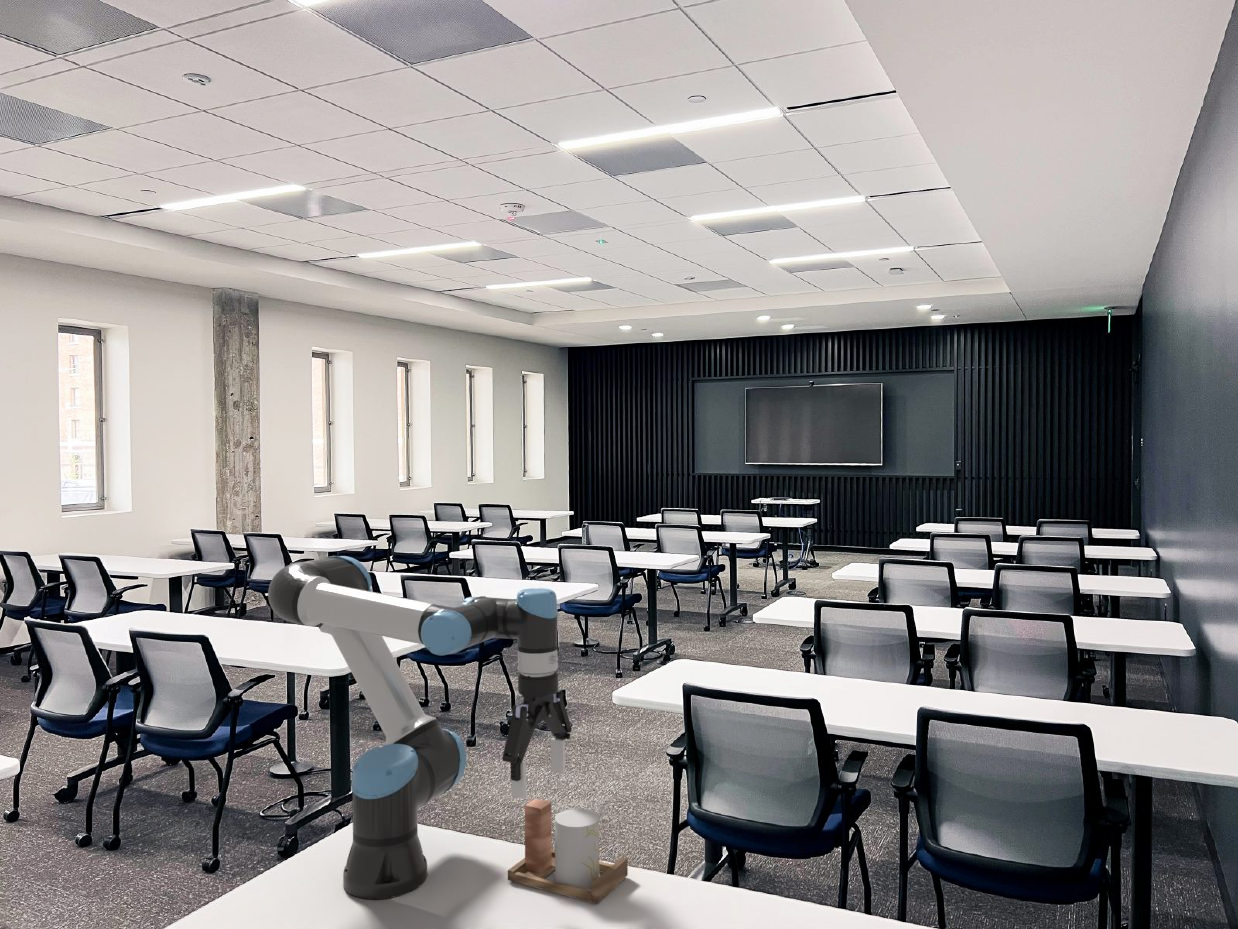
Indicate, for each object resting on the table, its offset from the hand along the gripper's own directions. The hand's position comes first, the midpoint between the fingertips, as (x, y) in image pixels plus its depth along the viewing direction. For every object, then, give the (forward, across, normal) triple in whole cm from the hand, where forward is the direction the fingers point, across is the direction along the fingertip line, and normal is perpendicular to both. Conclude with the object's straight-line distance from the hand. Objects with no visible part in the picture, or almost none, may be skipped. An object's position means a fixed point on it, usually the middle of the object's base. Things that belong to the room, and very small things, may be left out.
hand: (539, 784), depth 169 cm
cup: (+17, 0, -8) cm, 19 cm away
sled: (+17, 0, -6) cm, 18 cm away
